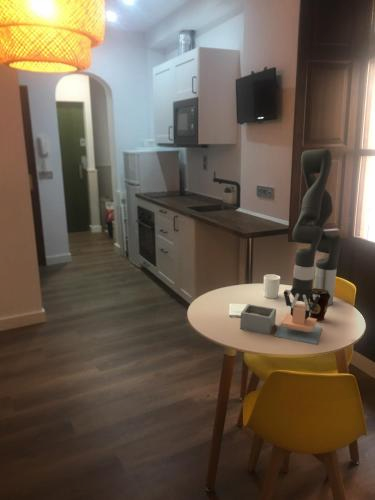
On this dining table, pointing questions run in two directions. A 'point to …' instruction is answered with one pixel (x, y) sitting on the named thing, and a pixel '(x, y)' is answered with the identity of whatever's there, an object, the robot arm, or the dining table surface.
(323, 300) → the coffee cup
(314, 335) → the mat
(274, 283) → the white cup
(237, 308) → the external hard drive
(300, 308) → the lid
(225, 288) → the dining table surface
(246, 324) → the storage box
